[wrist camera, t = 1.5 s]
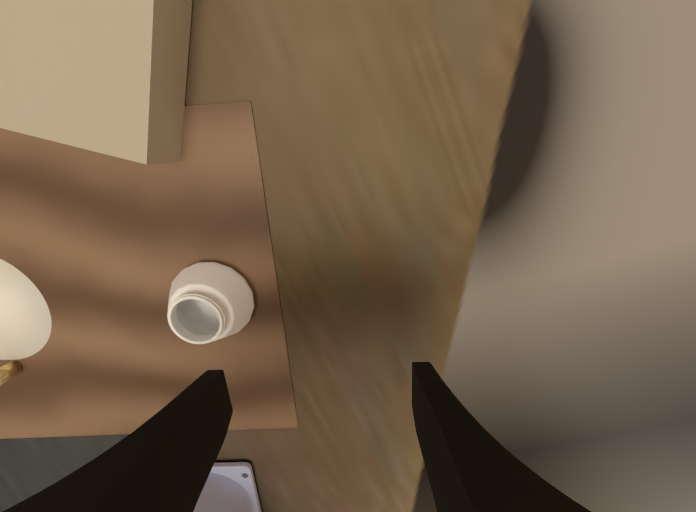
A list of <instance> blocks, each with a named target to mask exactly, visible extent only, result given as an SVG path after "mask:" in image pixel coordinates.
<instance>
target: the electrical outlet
mask: <svg viewBox="0 0 696 512" xmlns="http://www.w3.org/2000/svg"><path fill="white" fill-rule="evenodd" d="M192 2H193V0H0V128H2V129H6V130H10V131H14V132H18V133H22V134H26V135H30V136H34V137H38V138H42V139H46V140H50V141H54V142H58V143H62V144H66V145H70V146H74V147H78V148H82V149H86V150H90V151H94V152H98V153H102V154H106V155H110V156H114V157H118V158H122V159H126V160H130V161H134V162H138V163H142V164H146V165H147V164H155V163H163V162H171V161H179V160H180V159H181V146H182V133H183V120H184V107H185V93H186V80H187V67H188V54H189V41H190V28H191V15H192V9H191V8H192Z"/></svg>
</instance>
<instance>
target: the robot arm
mask: <svg viewBox="0 0 696 512" xmlns="http://www.w3.org/2000/svg"><path fill="white" fill-rule="evenodd" d="M412 408H413V414H414V421H415V427H416V433H417V437H418V440H419V444H420V448H421V452H422V455H423V459H424V463H425V466H426V470H427V474H428V477H429V481H430V485H431V488H432V492H433V496H434V500H435V504H436V509H437V512H591V511H589V510H587V509H586V508H584V507H583V506H581V505H580V504H578V503H577V502H575V501H573V500H572V499H570V498H569V497H568V496H566V495H565V494H563V493H562V492H560V491H559V490H558V489H556V488H555V487H553V486H552V485H550V484H549V483H548V482H546V481H545V480H544V479H542V478H541V477H540V476H538V475H537V474H536V473H535V472H533V471H532V470H531V469H530V468H528V467H527V466H526V465H524V464H523V463H522V462H521V461H519V460H518V459H517V458H516V457H515V456H513V455H512V454H511V453H510V452H509V451H508V450H506V449H505V448H504V447H503V446H502V445H501V444H500V443H499V442H498V441H497V440H496V439H494V437H492V436H491V435H490V434H489V433H488V432H487V431H486V430H485V429H484V428H483V427H482V426H481V425H480V424H479V423H478V421H477V420H476V419H475V418H474V417H473V416H472V415H471V414H470V413H469V412H468V411H467V409H466V408H465V407H464V406H463V405H462V404H461V403H460V401H459V400H458V399H457V398H456V397H455V395H454V394H453V393H452V392H451V390H450V389H449V388H448V386H447V385H446V384H445V383H444V381H443V380H442V379H441V377H440V376H439V374H438V373H437V372H436V370H435V369H434V367H433V366H432V364H431V363H430V362H412ZM232 413H233V408H232V404H231V400H230V396H229V392H228V387H227V383H226V379H225V375H224V371H223V370H207V371H206V372H205V373H203V374H202V375H201V376H200V377H199V378H197V379H196V380H195V381H194V382H193V383H192V384H190V385H189V386H188V387H187V388H186V389H185V390H183V391H182V392H181V393H180V394H179V395H178V396H176V397H175V398H174V399H173V400H172V401H171V402H169V403H168V404H167V405H166V406H165V407H164V408H162V409H161V410H160V411H159V412H158V413H156V414H155V415H154V416H152V417H151V418H150V419H149V420H147V421H146V422H145V423H144V424H142V425H141V426H140V427H139V428H137V429H136V430H135V431H134V432H132V433H131V434H130V435H128V436H127V437H125V438H124V439H123V440H121V441H120V442H119V443H117V444H116V445H114V446H113V447H111V448H110V449H109V450H107V451H106V452H104V453H103V454H101V455H100V456H98V457H97V458H95V459H94V460H92V461H90V462H89V463H87V464H86V465H84V466H82V467H81V468H79V469H78V470H76V471H74V472H73V473H71V474H70V475H68V476H66V477H65V478H63V479H61V480H60V481H58V482H56V483H55V484H53V485H51V486H49V487H48V488H46V489H44V490H42V491H41V492H39V493H37V494H35V495H33V496H31V497H30V498H28V499H26V500H24V501H22V502H20V503H18V504H17V505H15V506H13V507H11V508H9V509H7V510H5V511H3V512H262V511H261V507H260V502H259V498H258V493H257V489H256V484H255V479H254V475H253V470H252V466H251V464H249V463H248V462H226V463H215V460H216V458H217V456H218V453H219V451H220V449H221V446H222V444H223V442H224V439H225V437H226V433H227V430H228V427H229V424H230V420H231V417H232Z"/></svg>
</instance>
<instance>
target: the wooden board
mask: <svg viewBox="0 0 696 512" xmlns="http://www.w3.org/2000/svg"><path fill="white" fill-rule="evenodd" d="M198 262H217V263H219V264H222V265H225V266H228V267H231V268H232V269H234V270H235V271H236V272H237V273H239V274H240V275H241V276H242V277H244V278H245V280H246V282H247V283H248V285H249V287H250V288H251V290H252V292H253V299H254V309H253V312H252V315H251V318H250V321H249V322H248V323H247V324H246V325H245V326H244V327H243V328H242V329H241V330H240V332H238V333H235V334H233V335H230V336H228V337H225V338H222V339H219V340H216V341H212V342H210V343H206V344H193V343H189V342H186V341H184V340H182V339H181V338H179V337H178V336H177V335H176V334H175V333H174V332H173V331H172V329H171V328H170V326H169V323H168V319H167V312H168V300H169V293H170V288H171V284H172V281H173V280H174V279H175V278H176V276H177V275H178V274H179V273H180V272H181V271H182V270H183V269H184V268H186V267H189V266H191V265H193V264H195V263H198ZM207 370H223V371H224V375H225V379H226V383H227V387H228V392H229V396H230V400H231V404H232V408H233V413H232V417H231V420H230V424H229V427H228V430H251V429H279V428H298V420H297V413H296V406H295V399H294V392H293V385H292V379H291V372H290V365H289V358H288V351H287V344H286V338H285V331H284V324H283V317H282V310H281V303H280V297H279V290H278V283H277V276H276V269H275V262H274V255H273V249H272V242H271V235H270V228H269V221H268V214H267V208H266V201H265V194H264V187H263V180H262V173H261V166H260V160H259V153H258V146H257V139H256V132H255V125H254V119H253V112H252V105H251V102H236V103H222V104H208V105H193V106H185V107H184V120H183V133H182V146H181V159H180V160H179V161H171V162H163V163H155V164H147V165H146V164H142V163H138V162H134V161H130V160H126V159H122V158H118V157H114V156H110V155H106V154H102V153H98V152H94V151H90V150H86V149H82V148H78V147H74V146H70V145H66V144H62V143H58V142H54V141H50V140H46V139H42V138H38V137H34V136H30V135H26V134H22V133H18V132H14V131H10V130H6V129H2V128H0V439H4V438H32V437H59V436H87V435H114V434H131V433H132V432H134V431H135V430H136V429H137V428H139V427H140V426H141V425H142V424H144V423H145V422H146V421H147V420H149V419H150V418H151V417H152V416H154V415H155V414H156V413H158V412H159V411H160V410H161V409H162V408H164V407H165V406H166V405H167V404H168V403H169V402H171V401H172V400H173V399H174V398H175V397H176V396H178V395H179V394H180V393H181V392H182V391H183V390H185V389H186V388H187V387H188V386H189V385H190V384H192V383H193V382H194V381H195V380H196V379H197V378H199V377H200V376H201V375H202V374H203V373H205V372H206V371H207Z"/></svg>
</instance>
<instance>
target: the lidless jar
mask: <svg viewBox="0 0 696 512" xmlns="http://www.w3.org/2000/svg"><path fill="white" fill-rule="evenodd" d="M253 309H254V299H253V292H252V290H251V288H250V287H249V285H248V283H247V282H246V280H245V278H244V277H242V276H241V275H240V274H239V273H237V272H236V271H235V270H234V269H232V268H231V267H228V266H225V265H222V264H219V263H217V262H198V263H195V264H193V265H191V266H189V267H186V268H184V269H183V270H182V271H181V272H180V273H179V274H178V275H177V276H176V278H175V279H174V280H173V281H172V284H171V288H170V293H169V300H168V312H167V319H168V323H169V326H170V328H171V329H172V331H173V332H174V333H175V334H176V335H177V336H178V337H179V338H181V339H182V340H184V341H186V342H189V343H193V344H206V343H210V342H212V341H216V340H219V339H222V338H225V337H228V336H230V335H233V334H235V333H238V332H240V330H241V329H242V328H243V327H244V326H245V325H246V324H247V323H248V322H249V321H250V318H251V315H252V312H253Z"/></svg>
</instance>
